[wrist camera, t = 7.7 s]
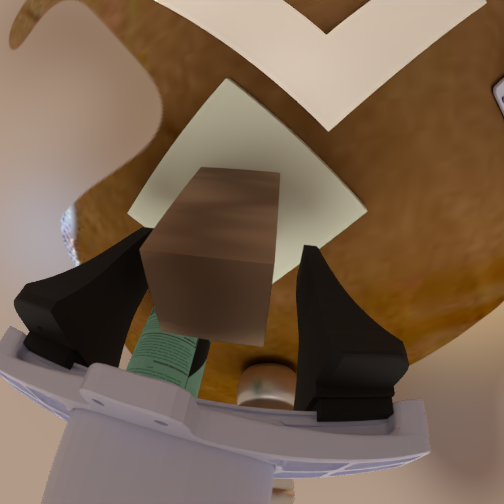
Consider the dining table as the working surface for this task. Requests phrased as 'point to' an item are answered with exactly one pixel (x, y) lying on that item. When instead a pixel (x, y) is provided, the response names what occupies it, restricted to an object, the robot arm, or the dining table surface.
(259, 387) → the plastic bottle
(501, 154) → the dining table surface
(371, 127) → the dining table surface
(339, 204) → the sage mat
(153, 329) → the spray can
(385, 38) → the socket board
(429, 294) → the dining table surface
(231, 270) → the walnut block
